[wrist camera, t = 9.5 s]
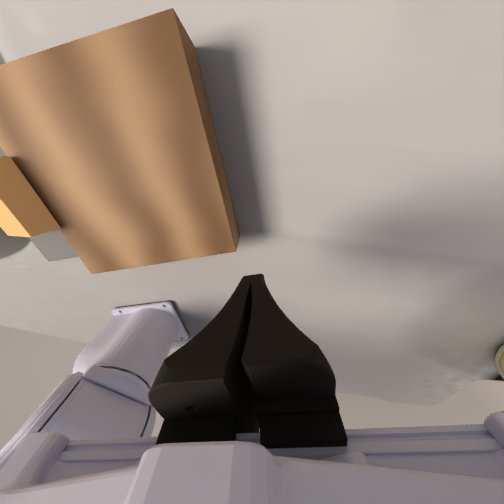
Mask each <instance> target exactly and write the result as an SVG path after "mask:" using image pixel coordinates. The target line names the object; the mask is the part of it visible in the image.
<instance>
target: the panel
mask: <svg viewBox="0 0 504 504" xmlns="http://www.w3.org/2000/svg"><path fill="white" fill-rule="evenodd" d="M0 147H1V148H2V150H3V151H4V153H5V154H6V155H7V156H10V157H11V159H12V160H13V161H14V163H15V164H16V166H17V167H18V168H19V170H20V171H21V173H22V174H23V175H24V177H25V178H26V180H27V181H28V183H29V184H30V185H31V187H32V188H33V190H34V191H35V192H36V194H37V195H38V197H39V198H40V199H41V201H42V202H43V204H44V205H45V206H46V208H47V209H48V211H49V212H50V213H51V215H52V216H53V218H54V219H55V220H56V222H57V223H58V225H59V226H60V231H61V232H62V234H63V235H64V236H65V238H66V239H67V241H68V242H69V243H70V245H71V246H72V247H73V249H74V250H75V252H76V253H77V254H78V256H79V257H80V259H81V260H82V261H83V263H84V264H85V266H86V267H87V268H88V270H89V271H90V273H91V274H96V273H102V272H108V271H115V270H121V269H127V268H134V267H140V266H146V265H153V264H159V263H165V262H172V261H178V260H185V259H191V258H197V257H204V256H210V255H216V254H223V253H229V252H235V251H236V249H237V245H238V241H239V237H240V235H239V230H238V226H237V222H236V218H235V214H234V209H233V205H232V201H231V197H230V193H229V188H228V184H227V180H226V176H225V172H224V167H223V163H222V159H221V155H220V151H219V147H218V142H217V138H216V134H215V130H214V126H213V121H212V117H211V113H210V109H209V105H208V100H207V96H206V92H205V88H204V84H203V79H202V75H201V71H200V67H199V63H198V58H197V54H196V50H195V46H194V45H193V43H192V41H191V39H190V37H189V36H188V34H187V32H186V30H185V29H184V27H183V25H182V23H181V22H180V20H179V18H178V16H177V15H176V13H175V11H174V9H173V8H172V9H169V10H165V11H162V12H159V13H156V14H153V15H150V16H147V17H144V18H141V19H138V20H135V21H132V22H129V23H126V24H123V25H120V26H117V27H114V28H111V29H108V30H105V31H102V32H99V33H96V34H93V35H90V36H87V37H84V38H81V39H78V40H74V41H71V42H68V43H65V44H62V45H59V46H56V47H53V48H50V49H47V50H44V51H41V52H38V53H35V54H32V55H29V56H26V57H23V58H20V59H17V60H14V61H11V62H8V63H5V64H2V65H0Z"/></svg>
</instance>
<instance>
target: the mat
mask: <svg viewBox="0 0 504 504" xmlns="http://www.w3.org/2000/svg"><path fill="white" fill-rule="evenodd" d="M2 156H7V155H6V154H5V153H4V151H3V150H2V148H1V147H0V157H2ZM29 238H30V239H31V241H32V242H33V243H34V244H35V246H36V247H37V248H38V249H39V250H40V252H41V253H42V254H43V255H44V257H45V258H46V259H47V260H48V261H54V260H60V259H66V258H72V257H78V254H77V253H76V252H75V250H74V249H73V247H72V246H71V245H70V243H69V242H68V241H67V239H66V238H65V236H64V235H63V234H62V232H61V231H60V229H56V230H53V231H50V232H46V233H43V234H40V235H37V236H33V237H29Z"/></svg>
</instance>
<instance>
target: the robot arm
mask: <svg viewBox="0 0 504 504" xmlns="http://www.w3.org/2000/svg"><path fill="white" fill-rule="evenodd" d="M165 305H166V306H165ZM111 312H112V314H113V315H114V316H113V317H112V318H111V319H110V320H109V321H108V323H107V324H106V325H105V326H104V327H103V328H102V329H101V330H100V331H99V332H98V333H97V334H96V336H95V337H94V338H93V339H92V340H91V341H90V342H89V343H88V344H87V345H86V346H85V347H84V349H83V350H82V351H81V352H80V354H79V355H78V357H77V359H76V361H75V364H74V367H73V374H71V375H68V376H66V378H65V379H64V380H63V381H62V382H61V383H60V384H59V385H58V386H57V387H56V388H55V389H54V390H53V392H52V393H51V394H50V395H49V396H48V397H47V398H46V399H45V400H44V402H43V403H42V404H41V405H40V406H39V407H38V408H37V409H36V411H35V412H34V413H33V414H32V415H31V416H30V417H29V418H28V420H27V421H26V422H25V423H24V424H23V425H22V426H21V428H20V429H19V430H18V431H17V432H16V433H15V434H14V436H13V437H12V438H11V439H10V440H9V441H8V442H7V444H6V445H5V446H4V447H3V448H2V450H1V451H0V504H504V411H501V412H496V413H493V414H490V415H489V416H488V417H487V418H486V419H485V421H484V424H471V425H446V426H418V427H393V428H366V429H344V426H343V422H342V419H341V416H340V414H339V406H338V402H337V399H336V396H335V388H336V380H335V376H334V373H333V371H332V369H331V367H330V365H329V363H328V361H327V359H326V358H325V356H324V354H323V353H322V351H321V350H320V348H319V347H318V345H317V344H315V343H314V342H313V341H312V340H310V339H309V338H308V337H307V336H306V335H305V334H303V333H302V332H301V331H300V330H299V329H298V328H297V327H296V326H295V325H294V324H293V323H292V322H291V321H290V320H289V319H288V318H287V316H286V315H285V314H284V313H283V312H282V310H281V309H280V308H279V306H278V305H277V304H276V302H275V300H274V299H273V297H272V296H271V294H270V292H269V290H268V288H267V286H266V284H265V280H264V275H263V274H256V275H249V276H243V278H242V279H241V281H240V283H239V285H238V286H237V288H236V290H235V291H234V293H233V294H232V296H231V297H230V299H229V300H228V302H227V303H226V304H225V306H224V307H223V308H222V310H221V311H220V312H219V313H218V314H217V316H216V317H215V318H214V319H213V320H212V321H211V322H210V323H209V324H208V325H207V326H206V327H205V328H204V329H203V330H202V331H201V332H200V333H198V334H197V335H196V336H195V337H194V338H193V339H191V340H190V341H189V342H188V343H186V344H185V345H184V346H183V347H181V348H180V349H178V350H177V351H176V352H174V353H173V354H171V355H170V356H169V357H167V356H168V353H169V351H170V349H171V347H172V345H173V343H174V341H179V340H187V339H188V337H189V336H188V334H187V332H186V330H185V328H184V326H183V324H182V322H181V320H180V319H179V317H178V315H177V313H176V311H175V309H174V307H173V305H172V303H171V302H169V301H167V302H159V303H152V304H144V305H136V306H129V307H121V308H114V309H113V310H112V311H111ZM156 410H157V412H158V413H159V414H160V415H161V416H162V417H163V418H164V422H163V425H162V427H161V430H160V433H159V436H158V437H151V434H152V431H153V428H154V424H155V419H156V414H155V411H156ZM259 428H260V432H259Z"/></svg>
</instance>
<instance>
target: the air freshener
mask: <svg viewBox="0 0 504 504" xmlns="http://www.w3.org/2000/svg"><path fill="white" fill-rule="evenodd" d="M495 366H496V368H497V371H498V372H499V374H500V375H501V376H502V377H503V378H504V342H503V343H502V344H501V345H500V348H499V350H498V351H497V354H496V356H495Z"/></svg>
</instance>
